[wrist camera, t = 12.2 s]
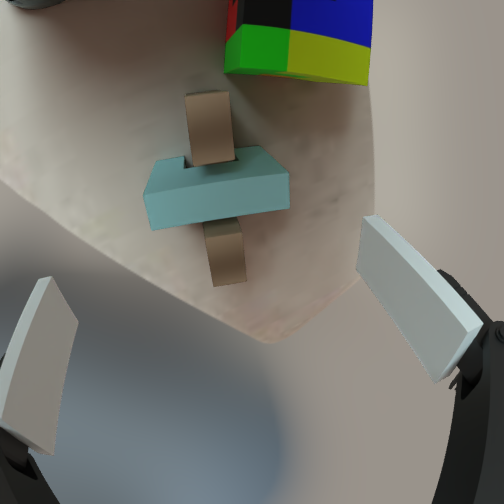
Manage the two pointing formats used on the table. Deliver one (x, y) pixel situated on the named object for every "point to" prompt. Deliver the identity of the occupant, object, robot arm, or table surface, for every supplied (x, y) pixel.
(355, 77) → the puzzle toy
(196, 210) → the notched teal block
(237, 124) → the table surface
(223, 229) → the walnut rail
